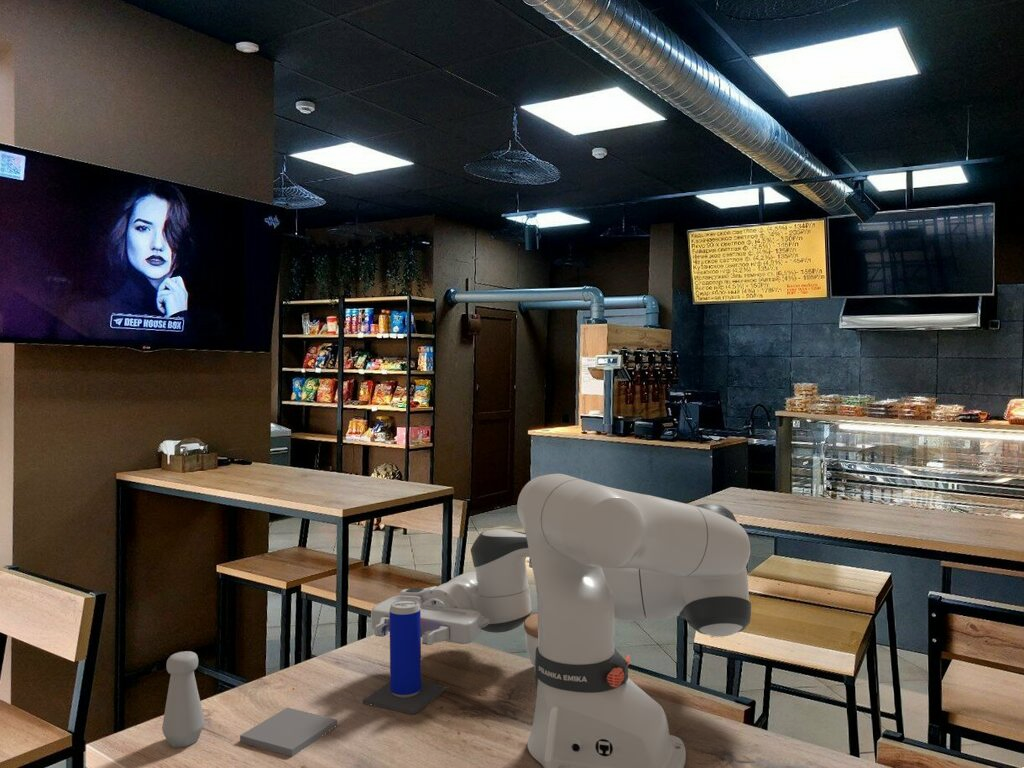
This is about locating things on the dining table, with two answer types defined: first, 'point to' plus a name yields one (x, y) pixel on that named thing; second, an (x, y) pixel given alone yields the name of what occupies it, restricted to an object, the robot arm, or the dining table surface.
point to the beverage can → (405, 648)
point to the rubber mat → (409, 704)
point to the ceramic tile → (288, 731)
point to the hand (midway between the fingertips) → (401, 636)
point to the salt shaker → (182, 702)
